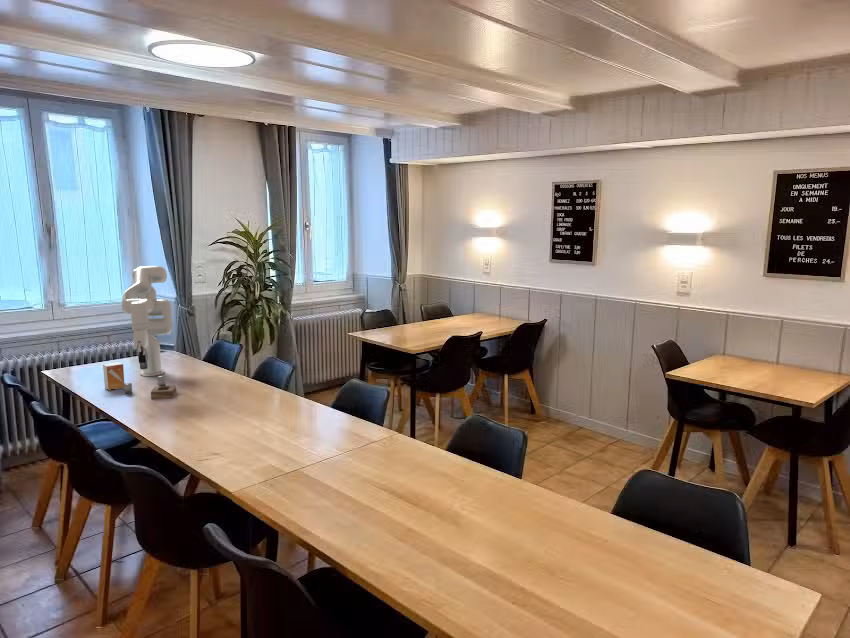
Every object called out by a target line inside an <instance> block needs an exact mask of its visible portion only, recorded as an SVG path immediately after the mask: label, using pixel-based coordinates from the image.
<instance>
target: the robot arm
mask: <svg viewBox="0 0 850 638" xmlns="http://www.w3.org/2000/svg"><path fill="white" fill-rule="evenodd" d="M131 273H132V274H131V275H132V279H133V285H132V286H130V287H129V288H127V289H126V290H125V291H124V292H123V295H122V300H121V301H122V302H121V310H122V312H123V313H124V314H126V315H127V314H128V315H130V316H131V328H132V331H133V349H134V350H137V357H138V364H140V363H145V362H146V356H145V351H144V349H145V348H146V351H147V363H148V368H147V369H142V370H141V371H140V372H139V374H140V375H141V376H142V377H155V376H161V375H163V374H164V373H165V369H164V368H162V358H161V346H160V344H161V343H160V341H159V340H158V338H157V337H155V336H165V335H171V333H172V332H173V318H172V305H171V302H170V300H168V299H165V298H161V299H160V298H159V299H158V298H157V290H156V288H154V287H153V286H152V284H162V283H163V284H164V283H165V282H166V281H167V277H168V273H167V271H166V269H165V268H164V267H163V266H161V265H144V266H139V267H137V268H135V269H133V270H132V272H131ZM149 317H155V318H149ZM156 317H157V318H156ZM158 317H160V318H158ZM141 348H143V349H141ZM141 350H143V351H141Z"/></svg>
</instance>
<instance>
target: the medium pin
mask: <svg viewBox="0 0 850 638" xmlns="http://www.w3.org/2000/svg"><path fill="white" fill-rule="evenodd" d="M157 386H167V383H166V375H157Z"/></svg>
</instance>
